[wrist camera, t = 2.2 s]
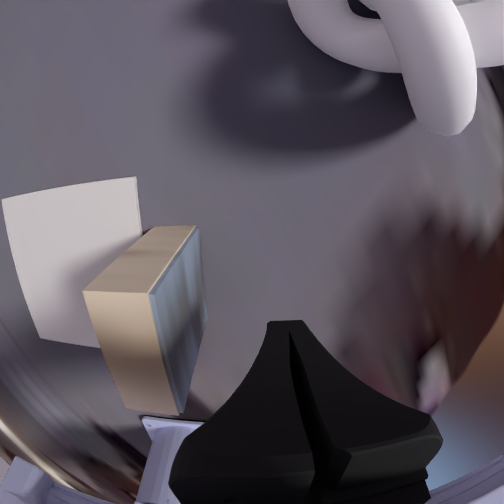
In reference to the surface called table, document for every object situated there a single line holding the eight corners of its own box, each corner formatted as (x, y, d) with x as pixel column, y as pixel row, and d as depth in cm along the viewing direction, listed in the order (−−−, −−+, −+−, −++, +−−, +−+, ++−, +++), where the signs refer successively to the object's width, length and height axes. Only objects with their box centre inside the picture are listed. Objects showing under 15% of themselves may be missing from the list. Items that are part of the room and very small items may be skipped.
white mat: (164, 351, 19) (163, 354, 19) (41, 336, 19) (40, 338, 19) (136, 176, 15) (134, 176, 15) (4, 198, 15) (1, 199, 15)
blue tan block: (208, 317, 18) (183, 415, 11) (167, 316, 18) (126, 408, 11) (198, 224, 16) (152, 293, 9) (153, 226, 16) (82, 290, 9)
